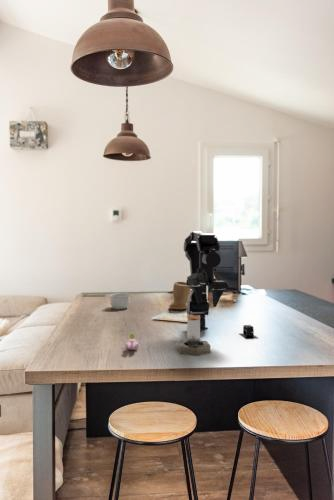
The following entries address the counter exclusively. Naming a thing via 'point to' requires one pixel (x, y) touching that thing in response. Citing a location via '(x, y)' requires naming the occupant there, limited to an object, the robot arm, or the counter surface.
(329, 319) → the counter surface
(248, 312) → the counter surface
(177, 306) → the stone cup
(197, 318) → the grey copper-topped cylinder
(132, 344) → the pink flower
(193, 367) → the counter surface
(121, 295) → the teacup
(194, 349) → the ring nut
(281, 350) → the counter surface
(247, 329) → the black flanged block
